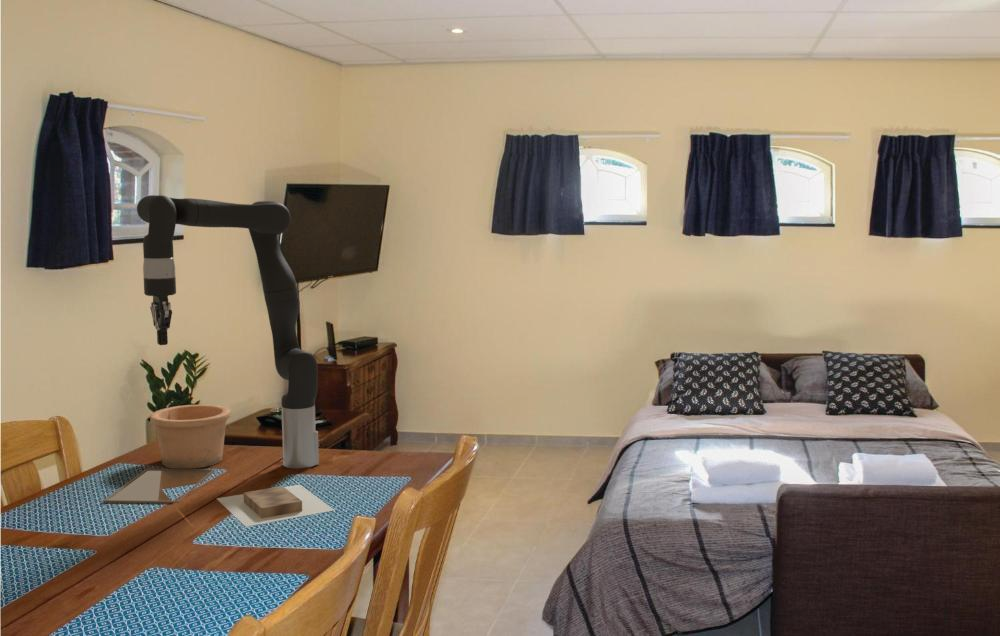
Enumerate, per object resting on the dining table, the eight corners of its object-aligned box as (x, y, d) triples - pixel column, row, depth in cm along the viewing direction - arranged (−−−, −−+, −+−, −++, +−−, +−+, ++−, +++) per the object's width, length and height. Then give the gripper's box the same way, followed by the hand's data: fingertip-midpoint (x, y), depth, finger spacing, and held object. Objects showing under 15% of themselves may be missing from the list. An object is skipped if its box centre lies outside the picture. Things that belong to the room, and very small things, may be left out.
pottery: (135, 467, 268) (133, 417, 266) (186, 448, 288) (184, 401, 286) (199, 475, 260) (197, 424, 258) (246, 455, 281) (245, 407, 279)
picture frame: (179, 505, 237) (214, 473, 264) (178, 501, 237) (214, 469, 264) (102, 504, 237) (146, 472, 265) (102, 500, 237) (146, 468, 265)
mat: (299, 486, 251) (299, 484, 251) (335, 511, 231) (334, 510, 231) (216, 500, 239) (216, 498, 239) (245, 528, 219) (245, 526, 219)
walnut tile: (282, 486, 242) (302, 501, 230) (282, 495, 242) (302, 511, 230) (243, 492, 236) (261, 508, 224) (243, 502, 237) (261, 518, 225)
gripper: (181, 277, 233) (184, 346, 235) (168, 273, 244) (171, 340, 246) (149, 278, 229) (153, 349, 231) (138, 274, 240) (141, 342, 242)
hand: (162, 344), depth 239 cm, fingers closed
